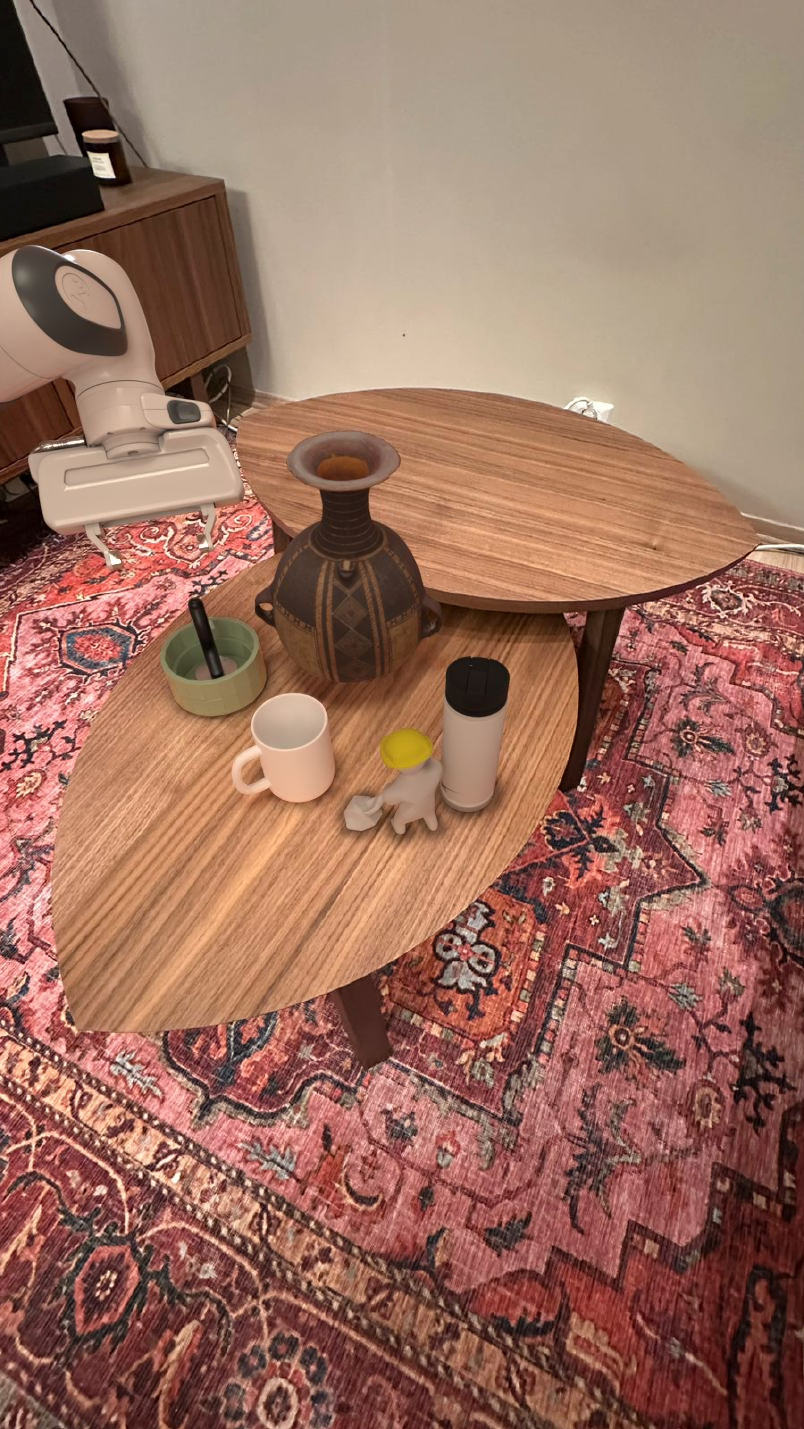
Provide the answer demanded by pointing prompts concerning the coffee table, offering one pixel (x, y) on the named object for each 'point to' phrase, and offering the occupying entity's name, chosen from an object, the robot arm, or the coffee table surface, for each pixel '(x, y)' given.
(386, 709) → the coffee table surface
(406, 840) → the coffee table surface
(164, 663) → the bowl
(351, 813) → the figurine
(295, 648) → the vase
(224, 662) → the meat pounder
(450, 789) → the travel mug
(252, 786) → the cup
